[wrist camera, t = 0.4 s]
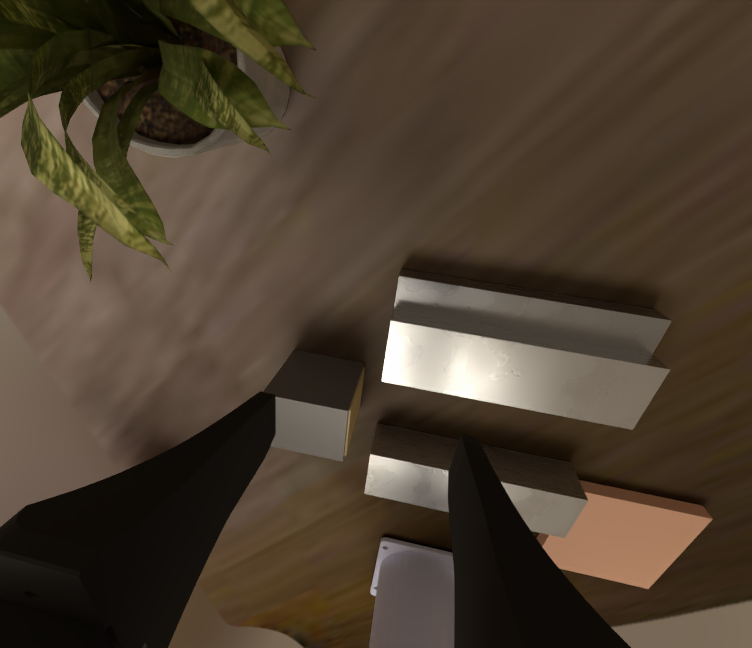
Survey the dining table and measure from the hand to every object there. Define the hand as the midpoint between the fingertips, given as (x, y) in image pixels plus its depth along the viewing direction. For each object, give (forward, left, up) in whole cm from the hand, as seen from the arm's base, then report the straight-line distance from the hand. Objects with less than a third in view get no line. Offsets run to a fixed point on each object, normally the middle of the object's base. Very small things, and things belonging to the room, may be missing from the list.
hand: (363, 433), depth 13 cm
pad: (-14, -19, -9) cm, 26 cm away
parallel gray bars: (-5, -7, -9) cm, 13 cm away
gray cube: (-5, +4, -10) cm, 12 cm away
